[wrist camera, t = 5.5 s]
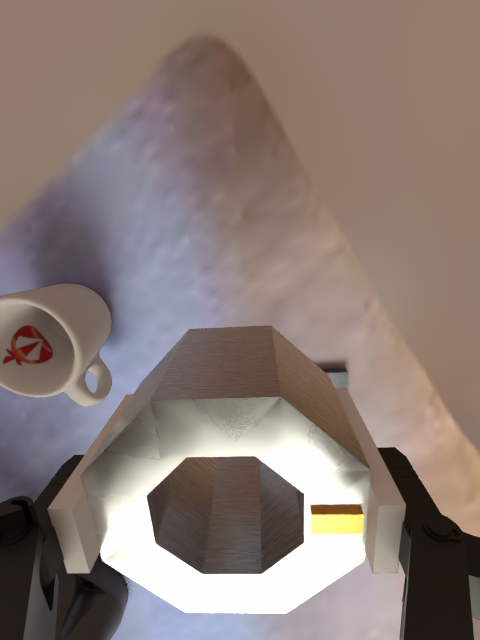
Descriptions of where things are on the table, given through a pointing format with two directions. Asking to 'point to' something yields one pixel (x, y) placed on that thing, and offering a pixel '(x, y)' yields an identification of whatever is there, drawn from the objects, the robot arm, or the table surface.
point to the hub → (231, 477)
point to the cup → (54, 342)
